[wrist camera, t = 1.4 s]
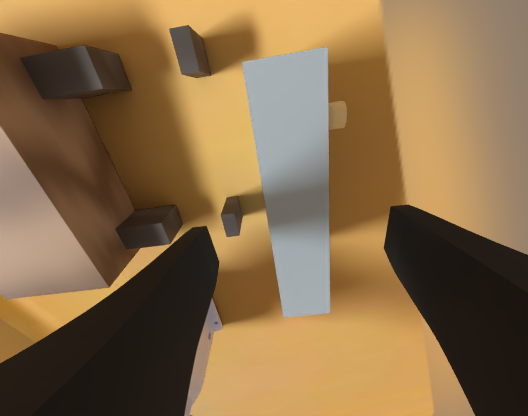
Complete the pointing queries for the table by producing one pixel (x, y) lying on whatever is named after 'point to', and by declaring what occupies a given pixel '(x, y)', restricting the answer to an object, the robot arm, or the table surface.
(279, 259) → the door panel
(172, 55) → the table surface
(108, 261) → the cabinet
